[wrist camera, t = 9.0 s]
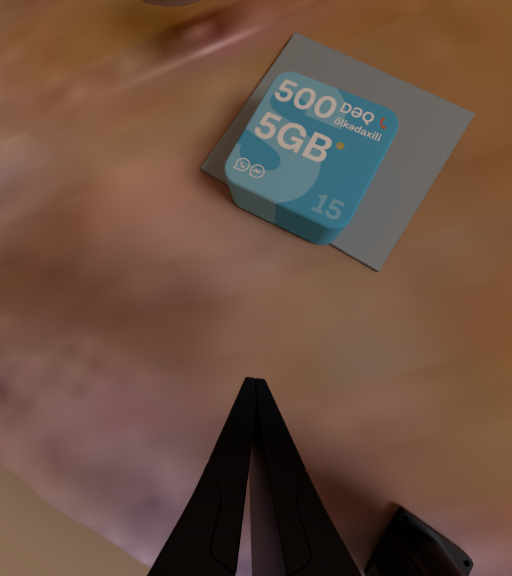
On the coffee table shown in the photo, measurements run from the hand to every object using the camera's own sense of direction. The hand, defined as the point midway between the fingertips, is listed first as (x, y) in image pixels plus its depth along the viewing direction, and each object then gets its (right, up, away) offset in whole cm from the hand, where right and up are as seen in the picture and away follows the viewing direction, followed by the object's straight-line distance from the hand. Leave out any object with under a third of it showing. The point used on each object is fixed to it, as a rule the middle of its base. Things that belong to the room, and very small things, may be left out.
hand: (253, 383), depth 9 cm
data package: (+2, +11, +11) cm, 15 cm away
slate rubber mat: (+9, +20, +14) cm, 26 cm away
